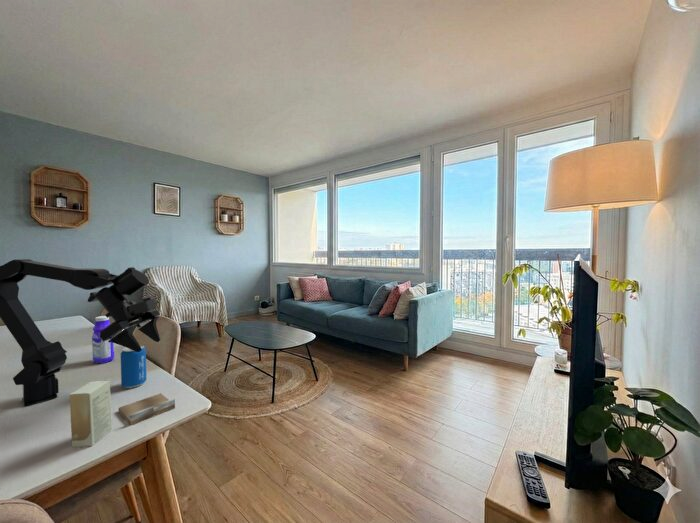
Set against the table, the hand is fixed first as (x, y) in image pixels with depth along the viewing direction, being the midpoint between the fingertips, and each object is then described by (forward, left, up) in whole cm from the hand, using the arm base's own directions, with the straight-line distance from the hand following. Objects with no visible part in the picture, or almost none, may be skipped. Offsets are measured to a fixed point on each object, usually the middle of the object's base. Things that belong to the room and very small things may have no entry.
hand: (150, 346), depth 87 cm
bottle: (-2, +43, -15) cm, 45 cm away
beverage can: (-1, +10, -15) cm, 18 cm away
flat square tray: (-4, -10, -14) cm, 18 cm away
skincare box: (-16, -14, -15) cm, 26 cm away
